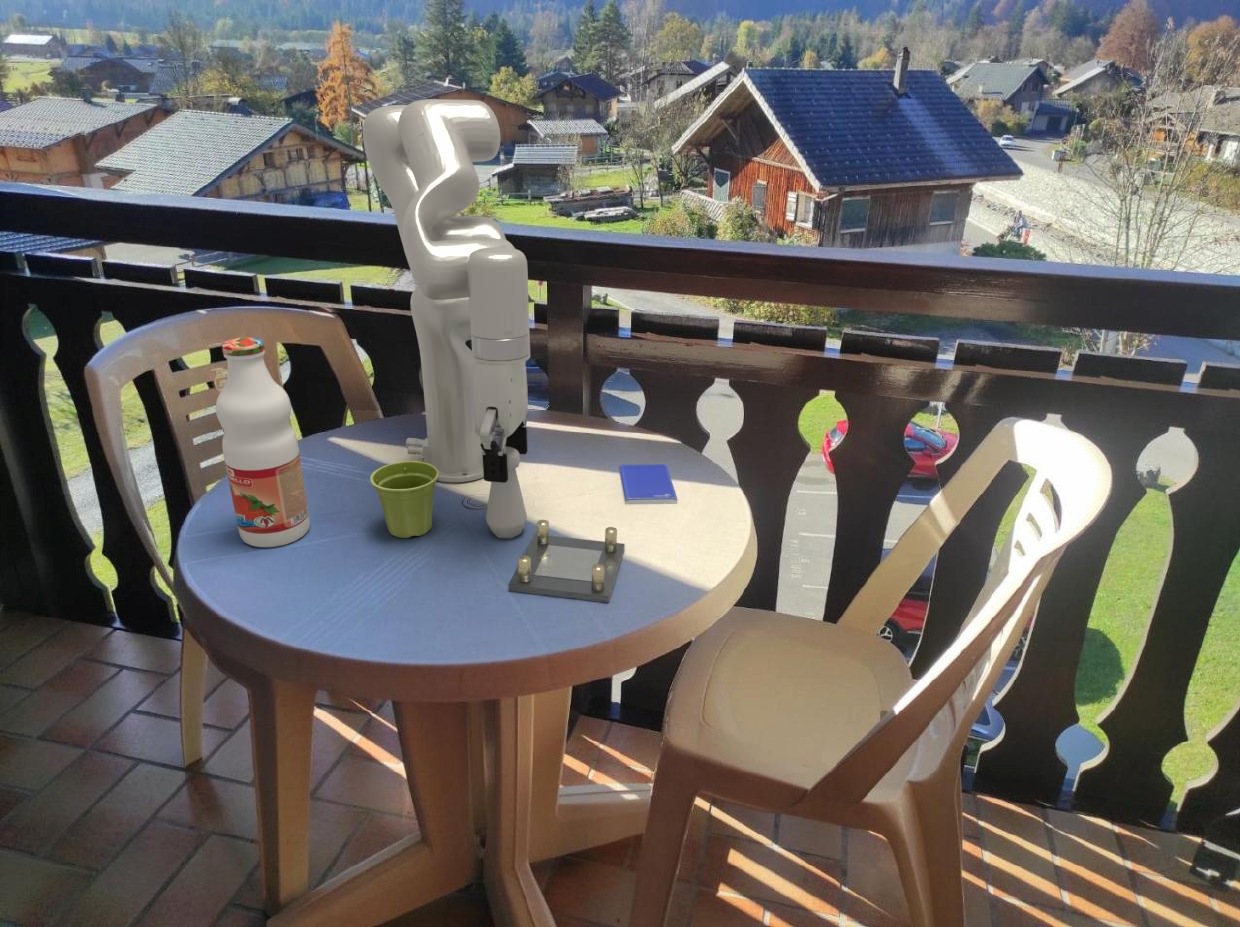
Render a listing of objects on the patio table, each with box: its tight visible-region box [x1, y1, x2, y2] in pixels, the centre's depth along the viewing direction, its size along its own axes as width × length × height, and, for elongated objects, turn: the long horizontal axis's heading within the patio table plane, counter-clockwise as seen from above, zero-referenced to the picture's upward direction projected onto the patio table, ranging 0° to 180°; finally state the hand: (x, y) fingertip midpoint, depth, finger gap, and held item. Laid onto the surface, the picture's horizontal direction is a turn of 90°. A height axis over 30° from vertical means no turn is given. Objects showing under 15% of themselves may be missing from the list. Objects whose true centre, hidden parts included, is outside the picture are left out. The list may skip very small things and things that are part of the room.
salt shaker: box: [485, 447, 528, 540], centre depth 115 cm, size 6×6×13 cm
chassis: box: [508, 519, 626, 604], centre depth 108 cm, size 13×13×4 cm
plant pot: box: [369, 460, 439, 539], centre depth 116 cm, size 9×9×9 cm
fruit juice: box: [215, 337, 311, 548], centre depth 109 cm, size 9×9×28 cm
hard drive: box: [618, 464, 678, 505], centre depth 132 cm, size 2×8×12 cm
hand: (506, 466), depth 112 cm, fingers open, 9 cm apart
